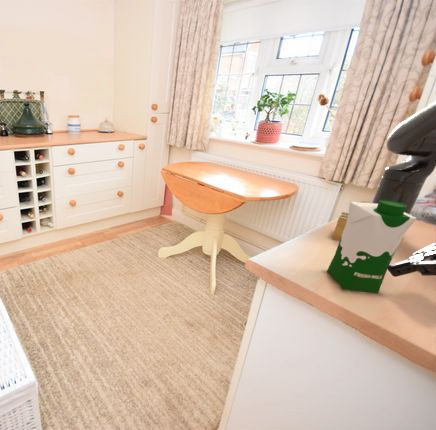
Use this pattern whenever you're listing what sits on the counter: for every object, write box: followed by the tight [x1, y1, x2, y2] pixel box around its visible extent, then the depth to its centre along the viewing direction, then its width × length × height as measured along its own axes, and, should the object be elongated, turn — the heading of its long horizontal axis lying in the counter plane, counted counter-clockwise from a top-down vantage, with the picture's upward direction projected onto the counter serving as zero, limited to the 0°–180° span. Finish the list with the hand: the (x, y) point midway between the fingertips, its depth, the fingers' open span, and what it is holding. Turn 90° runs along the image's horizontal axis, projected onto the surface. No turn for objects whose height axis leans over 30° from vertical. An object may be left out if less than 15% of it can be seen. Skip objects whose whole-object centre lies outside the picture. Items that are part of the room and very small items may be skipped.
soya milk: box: [326, 200, 417, 294], centre depth 62 cm, size 9×9×20 cm
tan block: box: [331, 211, 348, 242], centre depth 85 cm, size 6×6×7 cm
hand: (390, 271), depth 61 cm, fingers closed
